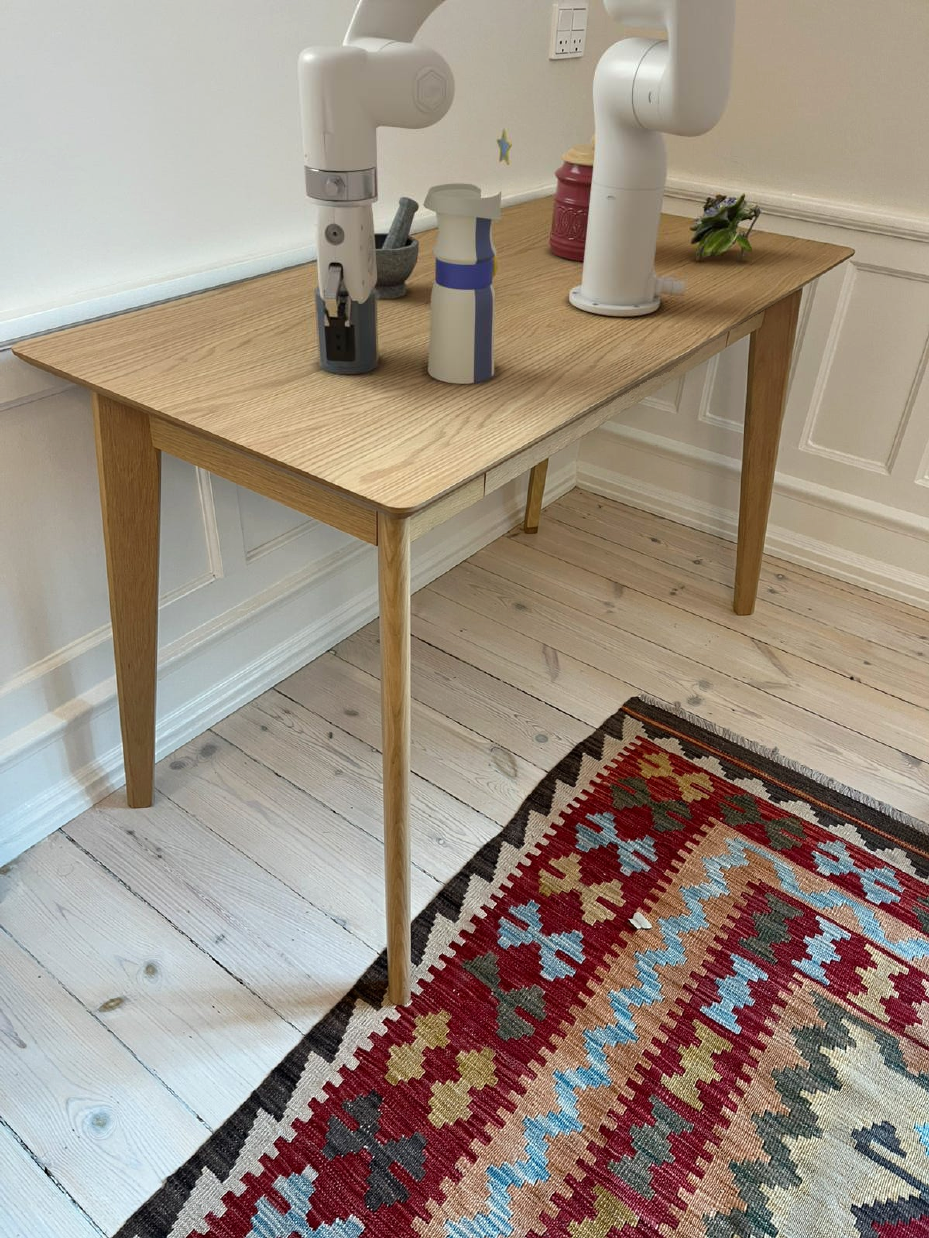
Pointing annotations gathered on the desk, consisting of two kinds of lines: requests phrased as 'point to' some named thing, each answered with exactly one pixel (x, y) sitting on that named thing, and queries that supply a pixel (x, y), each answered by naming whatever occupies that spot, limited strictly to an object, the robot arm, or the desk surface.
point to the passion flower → (722, 226)
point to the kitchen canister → (572, 202)
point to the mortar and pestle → (396, 252)
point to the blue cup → (364, 336)
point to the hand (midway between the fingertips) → (349, 345)
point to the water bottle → (463, 281)
